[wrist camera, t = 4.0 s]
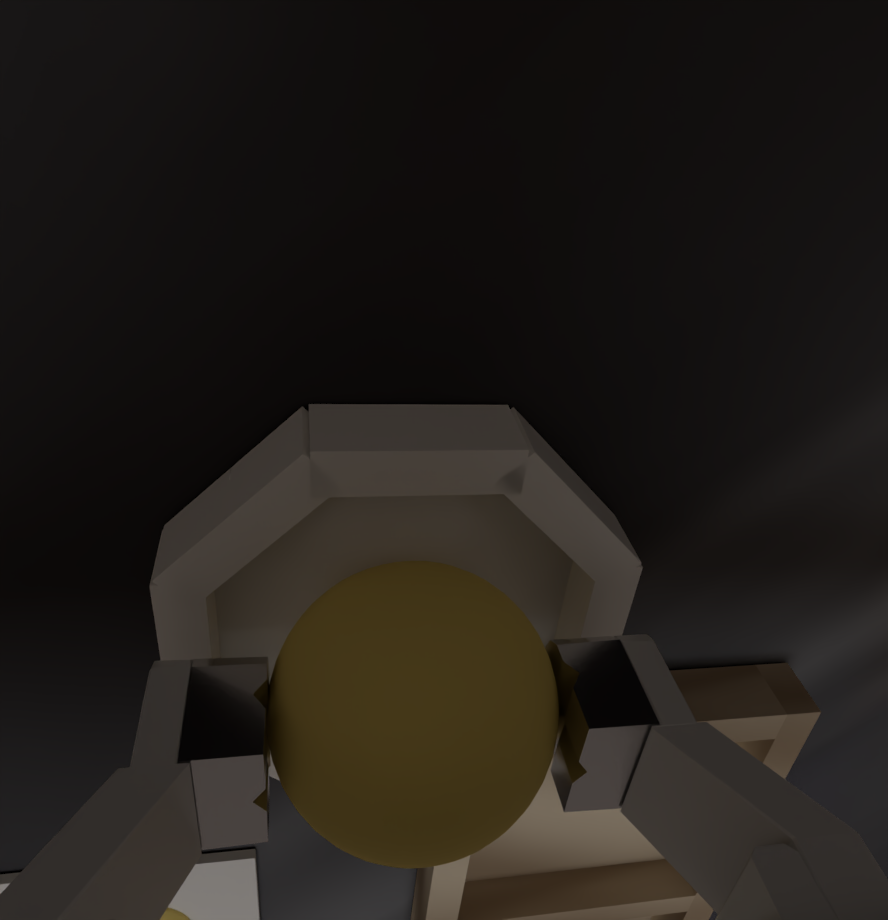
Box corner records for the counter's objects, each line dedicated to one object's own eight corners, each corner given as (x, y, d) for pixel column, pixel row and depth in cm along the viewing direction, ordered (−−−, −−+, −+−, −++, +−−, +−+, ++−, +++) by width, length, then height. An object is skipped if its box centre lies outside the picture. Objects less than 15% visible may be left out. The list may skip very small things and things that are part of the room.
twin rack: (442, 685, 14) (454, 740, 13) (787, 662, 15) (821, 711, 14) (398, 1012, 21) (402, 1064, 20) (635, 978, 22) (650, 1025, 21)
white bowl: (144, 403, 10) (128, 453, 9) (645, 405, 11) (679, 448, 10) (191, 745, 14) (182, 806, 13) (561, 716, 15) (580, 770, 14)
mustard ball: (266, 507, 11) (253, 748, 8) (537, 501, 12) (633, 719, 8) (273, 696, 13) (266, 948, 10) (501, 681, 14) (567, 911, 10)
